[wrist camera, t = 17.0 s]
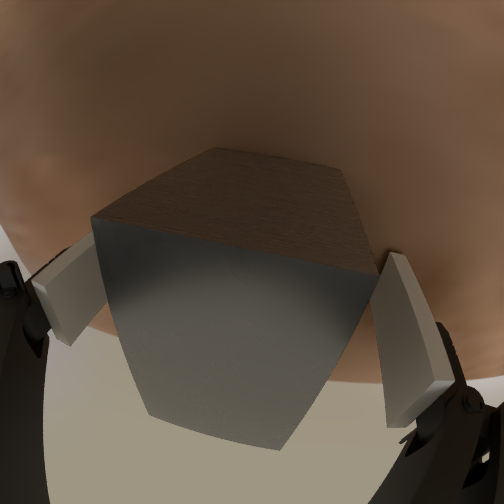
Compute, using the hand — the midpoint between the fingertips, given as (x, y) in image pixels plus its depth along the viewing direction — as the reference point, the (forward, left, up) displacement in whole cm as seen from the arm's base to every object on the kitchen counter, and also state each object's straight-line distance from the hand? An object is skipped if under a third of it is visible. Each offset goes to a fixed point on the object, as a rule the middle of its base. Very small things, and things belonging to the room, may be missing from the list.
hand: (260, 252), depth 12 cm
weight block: (0, 0, 0) cm, 0 cm away
